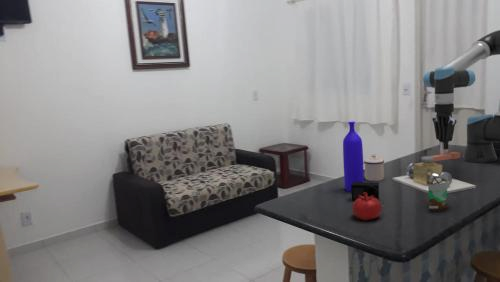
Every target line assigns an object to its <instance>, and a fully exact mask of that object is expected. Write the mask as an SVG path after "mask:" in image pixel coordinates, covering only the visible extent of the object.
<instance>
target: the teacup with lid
mask: <svg viewBox="0 0 500 282" xmlns="http://www.w3.org/2000/svg"><path fill="white" fill-rule="evenodd" d="M384 162H385V160H384V158H382V157H379V156H377V155H376V154H371V156H369V157H368V158H365V159H363V165H364V180H366V181H370V182H379V181H380V182H381V181H383V180H384V179H385V163H384Z"/></svg>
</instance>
